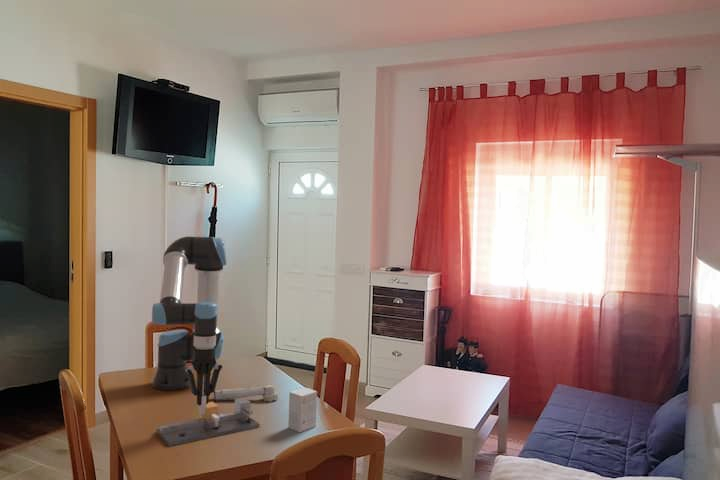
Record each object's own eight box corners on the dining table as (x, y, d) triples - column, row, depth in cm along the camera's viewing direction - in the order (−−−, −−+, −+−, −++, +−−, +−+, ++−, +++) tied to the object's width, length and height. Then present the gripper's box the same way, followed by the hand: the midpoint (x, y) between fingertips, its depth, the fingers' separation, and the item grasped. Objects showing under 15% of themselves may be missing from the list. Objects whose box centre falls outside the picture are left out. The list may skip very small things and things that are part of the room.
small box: (303, 421, 204) (305, 386, 204) (316, 426, 200) (317, 391, 200) (287, 427, 198) (289, 391, 198) (299, 432, 194) (301, 396, 194)
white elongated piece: (214, 388, 226) (276, 380, 229) (216, 404, 226) (278, 396, 229) (213, 392, 221) (276, 384, 224) (214, 409, 221) (278, 400, 224)
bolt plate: (156, 432, 188) (156, 412, 188) (243, 415, 208) (244, 397, 207) (168, 446, 178) (169, 425, 178) (259, 427, 197) (260, 408, 197)
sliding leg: (201, 420, 197) (201, 403, 197) (212, 417, 200) (212, 401, 199) (211, 428, 190) (212, 411, 190) (222, 426, 192) (223, 409, 192)
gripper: (190, 351, 187) (187, 420, 188) (226, 347, 195) (224, 413, 196) (182, 346, 193) (180, 413, 194) (218, 342, 201) (215, 407, 202)
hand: (202, 413), depth 195 cm, fingers closed
